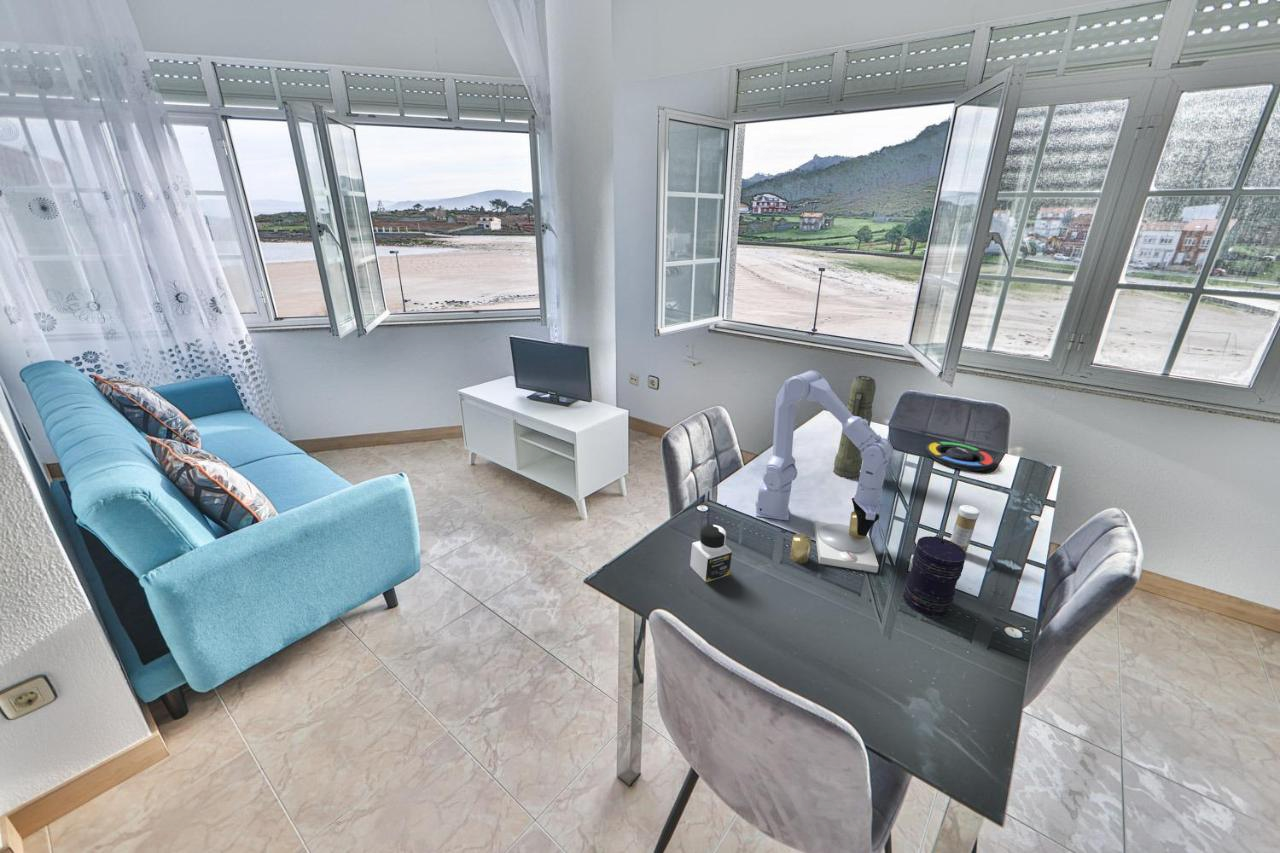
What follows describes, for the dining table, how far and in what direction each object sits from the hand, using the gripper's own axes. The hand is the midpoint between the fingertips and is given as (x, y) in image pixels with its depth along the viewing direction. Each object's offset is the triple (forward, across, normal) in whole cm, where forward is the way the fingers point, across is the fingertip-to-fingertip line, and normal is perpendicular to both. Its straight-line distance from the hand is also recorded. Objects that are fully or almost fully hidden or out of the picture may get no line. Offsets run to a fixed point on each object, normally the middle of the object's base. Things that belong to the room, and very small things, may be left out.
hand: (860, 529), depth 139 cm
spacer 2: (+2, 0, 0) cm, 2 cm away
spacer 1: (+6, -10, +16) cm, 19 cm away
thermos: (+6, +48, -4) cm, 49 cm away
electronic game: (+6, +74, -48) cm, 89 cm away
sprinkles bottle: (+6, +6, -26) cm, 28 cm away
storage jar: (+6, -20, -12) cm, 24 cm away
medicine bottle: (+6, -22, +38) cm, 44 cm away
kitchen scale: (+6, -2, +4) cm, 7 cm away
